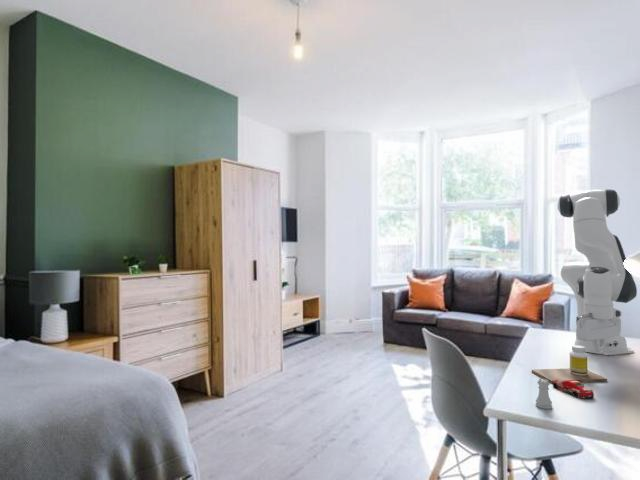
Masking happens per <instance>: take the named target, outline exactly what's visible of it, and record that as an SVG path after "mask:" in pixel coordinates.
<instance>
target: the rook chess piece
mask: <svg viewBox="0 0 640 480" xmlns="http://www.w3.org/2000/svg"><path fill="white" fill-rule="evenodd" d="M537 384H538V385H539V386H538V396H537V397H536V399H535V406H536V407H537V408H540V409H542V410H550V409H553V405H552V404H553V402H552V400H551V398H550V396H549V390H550V388H549V386H550V385H551V383H550V382H548V380H547V379H546V380H545V379H543V378H541V377H539V378H538V381H537Z"/></svg>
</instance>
